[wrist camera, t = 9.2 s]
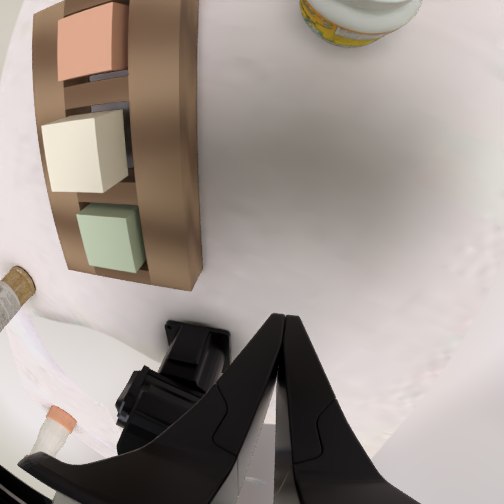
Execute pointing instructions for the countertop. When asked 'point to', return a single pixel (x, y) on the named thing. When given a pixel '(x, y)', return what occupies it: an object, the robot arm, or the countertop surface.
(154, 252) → the wooden tray
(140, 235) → the sage key
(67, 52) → the terracotta key
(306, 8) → the supplement bottle
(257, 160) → the countertop surface
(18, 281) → the sprinkles bottle
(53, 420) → the pepper shaker
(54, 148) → the cream key
